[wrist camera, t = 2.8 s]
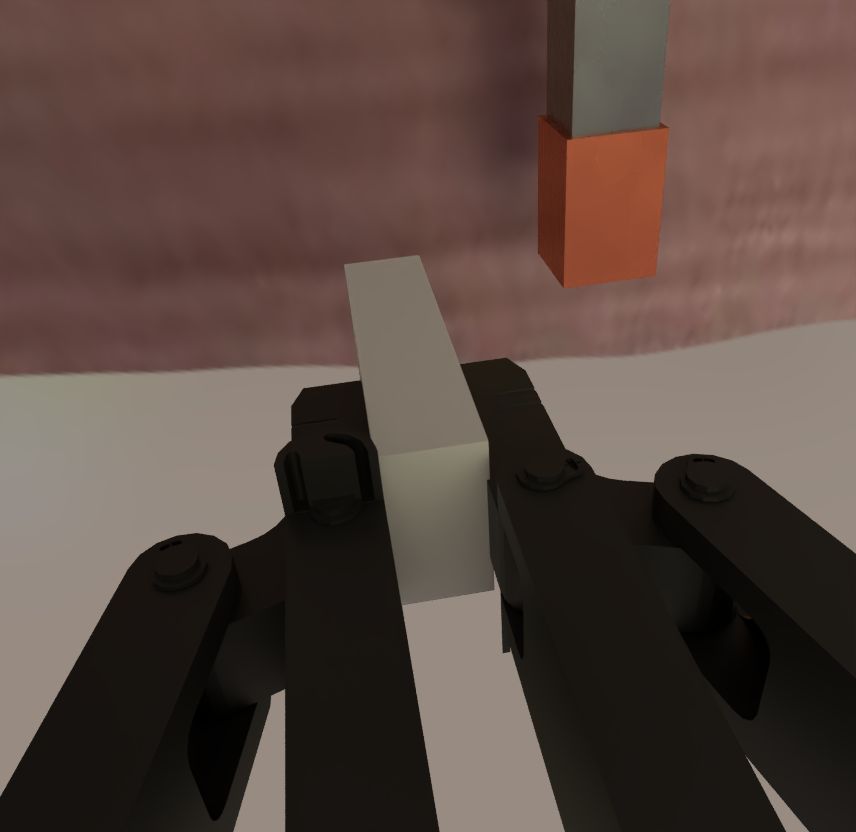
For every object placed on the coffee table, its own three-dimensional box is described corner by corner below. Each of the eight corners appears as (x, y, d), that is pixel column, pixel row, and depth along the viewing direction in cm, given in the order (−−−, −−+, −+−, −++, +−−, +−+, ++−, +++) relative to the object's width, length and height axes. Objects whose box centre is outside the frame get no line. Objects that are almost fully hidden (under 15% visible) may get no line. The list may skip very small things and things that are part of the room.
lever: (525, -274, 19) (564, -301, 16) (669, -284, 19) (731, -313, 17) (527, 254, 26) (555, 293, 24) (631, 240, 27) (670, 278, 24)
